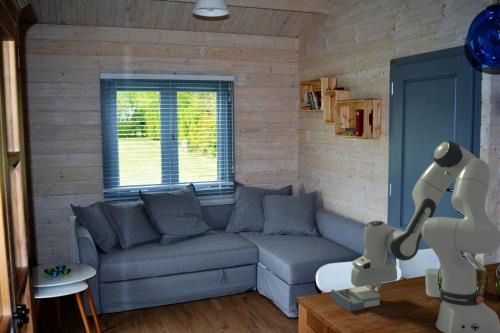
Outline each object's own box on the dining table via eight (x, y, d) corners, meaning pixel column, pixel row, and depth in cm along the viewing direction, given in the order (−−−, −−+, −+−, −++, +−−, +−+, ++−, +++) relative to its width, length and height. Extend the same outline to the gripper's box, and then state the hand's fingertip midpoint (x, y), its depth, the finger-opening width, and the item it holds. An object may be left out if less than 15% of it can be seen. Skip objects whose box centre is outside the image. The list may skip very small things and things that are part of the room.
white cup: (422, 291, 209) (422, 268, 208) (441, 291, 209) (441, 268, 208) (428, 298, 202) (428, 274, 200) (447, 298, 201) (448, 274, 200)
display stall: (344, 296, 205) (344, 287, 205) (364, 309, 192) (364, 299, 192) (331, 299, 203) (331, 289, 202) (349, 311, 190) (349, 301, 189)
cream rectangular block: (365, 297, 205) (365, 286, 204) (379, 306, 196) (379, 294, 195) (348, 300, 202) (348, 288, 202) (361, 309, 193) (361, 297, 192)
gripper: (391, 255, 207) (390, 287, 208) (349, 262, 200) (349, 294, 201) (400, 259, 201) (400, 292, 203) (357, 266, 194) (357, 300, 195)
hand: (374, 293), depth 202 cm, fingers closed
